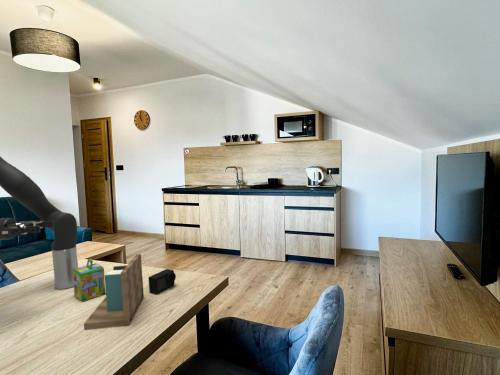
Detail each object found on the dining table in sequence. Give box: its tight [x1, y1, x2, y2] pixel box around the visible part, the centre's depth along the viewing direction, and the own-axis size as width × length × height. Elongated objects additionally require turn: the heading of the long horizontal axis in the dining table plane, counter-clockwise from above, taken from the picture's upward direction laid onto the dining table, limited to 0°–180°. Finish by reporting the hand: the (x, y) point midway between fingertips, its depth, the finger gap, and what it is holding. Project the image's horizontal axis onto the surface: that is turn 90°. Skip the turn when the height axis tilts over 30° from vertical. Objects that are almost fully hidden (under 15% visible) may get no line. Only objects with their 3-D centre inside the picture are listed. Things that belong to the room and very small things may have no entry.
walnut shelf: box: [83, 253, 145, 330], centre depth 103 cm, size 20×14×18 cm
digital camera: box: [148, 268, 177, 296], centre depth 121 cm, size 10×5×7 cm, turn 150°
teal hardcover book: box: [104, 270, 123, 312], centre depth 102 cm, size 4×7×13 cm, turn 97°
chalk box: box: [73, 258, 106, 303], centre depth 118 cm, size 9×9×15 cm
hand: (47, 226), depth 102 cm, fingers open, 8 cm apart
